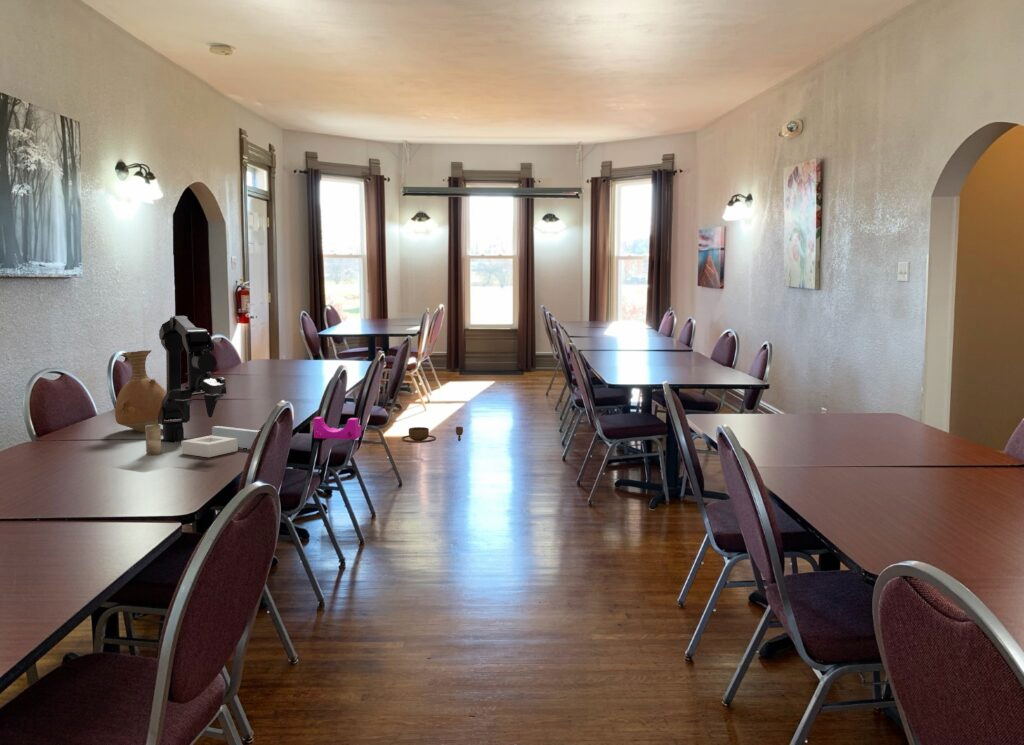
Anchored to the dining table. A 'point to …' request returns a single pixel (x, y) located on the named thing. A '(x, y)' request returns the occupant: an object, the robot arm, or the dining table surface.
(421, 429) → the place setting
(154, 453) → the dowel
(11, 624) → the dining table surface
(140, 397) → the jug
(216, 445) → the socket block
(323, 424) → the toy block
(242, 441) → the board
